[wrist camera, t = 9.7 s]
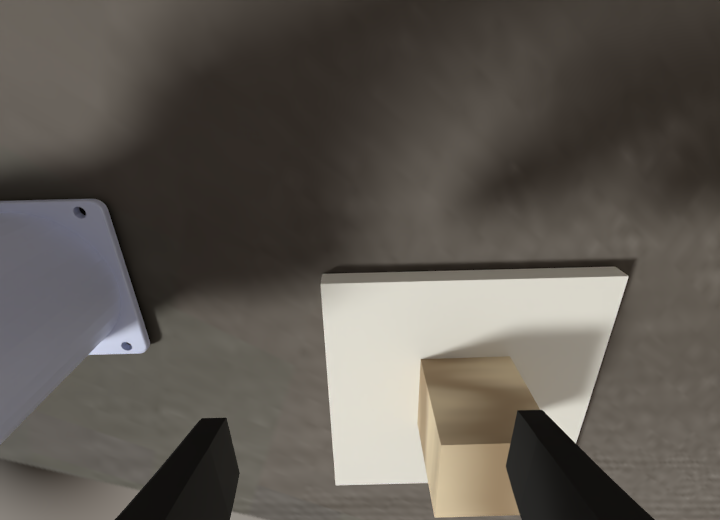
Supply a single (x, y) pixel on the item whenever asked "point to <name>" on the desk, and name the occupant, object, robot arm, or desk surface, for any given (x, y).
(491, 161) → the desk surface
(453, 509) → the oak block
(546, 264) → the desk surface
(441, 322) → the board
